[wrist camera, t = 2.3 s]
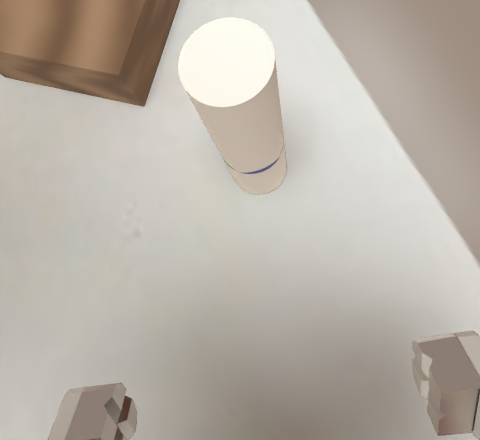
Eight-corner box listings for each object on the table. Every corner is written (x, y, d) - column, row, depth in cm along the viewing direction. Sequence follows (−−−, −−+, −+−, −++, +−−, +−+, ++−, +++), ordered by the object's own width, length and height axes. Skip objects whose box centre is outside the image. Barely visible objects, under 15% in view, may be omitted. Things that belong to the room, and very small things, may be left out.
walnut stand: (4, 76, 38) (-40, 43, 33) (56, -55, 40) (22, -105, 35) (144, 106, 35) (118, 75, 30) (191, -37, 37) (175, -87, 32)
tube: (245, 135, 33) (202, 6, 19) (295, 153, 32) (290, 32, 18) (223, 182, 33) (162, 88, 18) (273, 202, 32) (250, 120, 17)
